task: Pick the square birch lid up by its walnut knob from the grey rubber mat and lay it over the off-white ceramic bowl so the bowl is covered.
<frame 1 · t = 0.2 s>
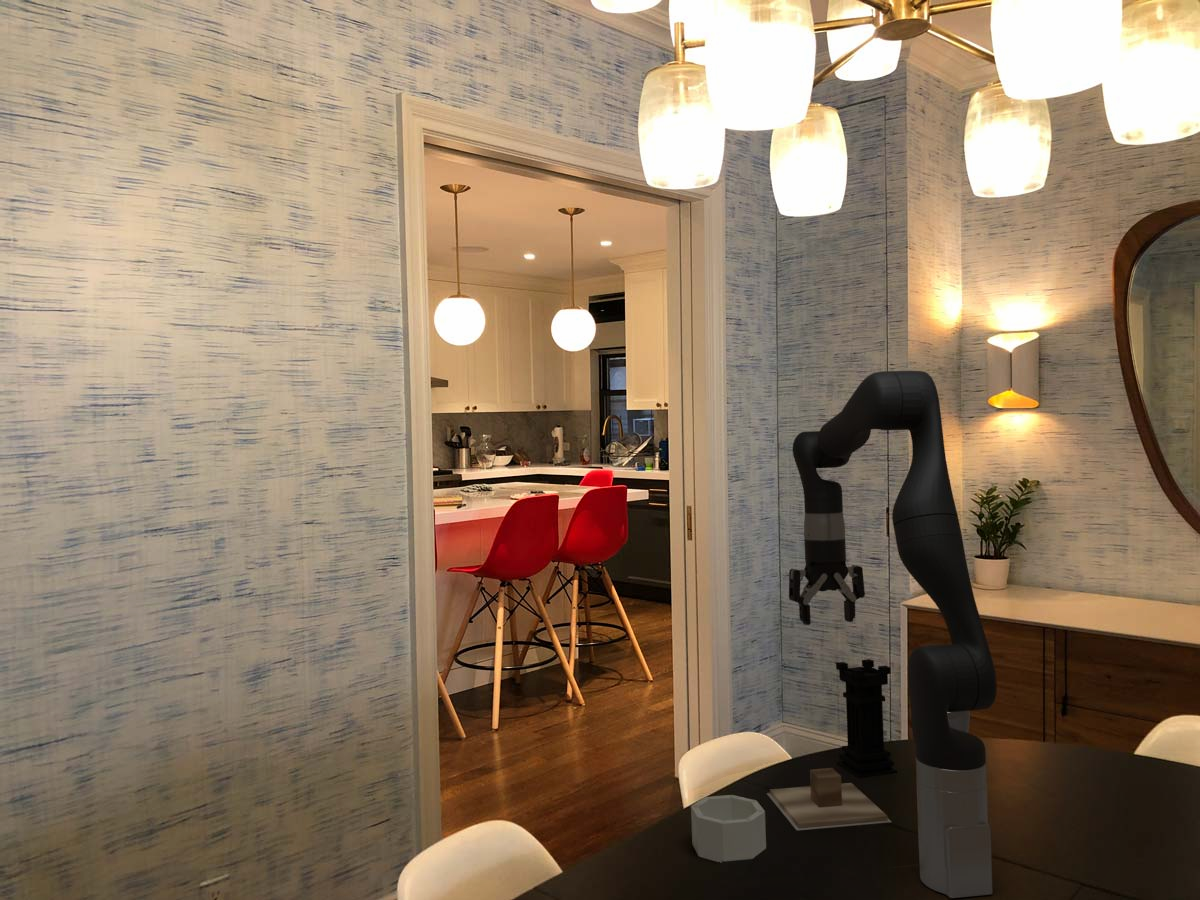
hand: (827, 622, 171), 28 cm above the table, tool pointing down, fingers open, 8 cm apart
chess piece: (866, 771, 172), on the table
lid: (826, 806, 155), resting on mat
bowl: (728, 847, 141), on the table
wine glass: (948, 790, 161), on the table
mat: (826, 809, 155), on the table
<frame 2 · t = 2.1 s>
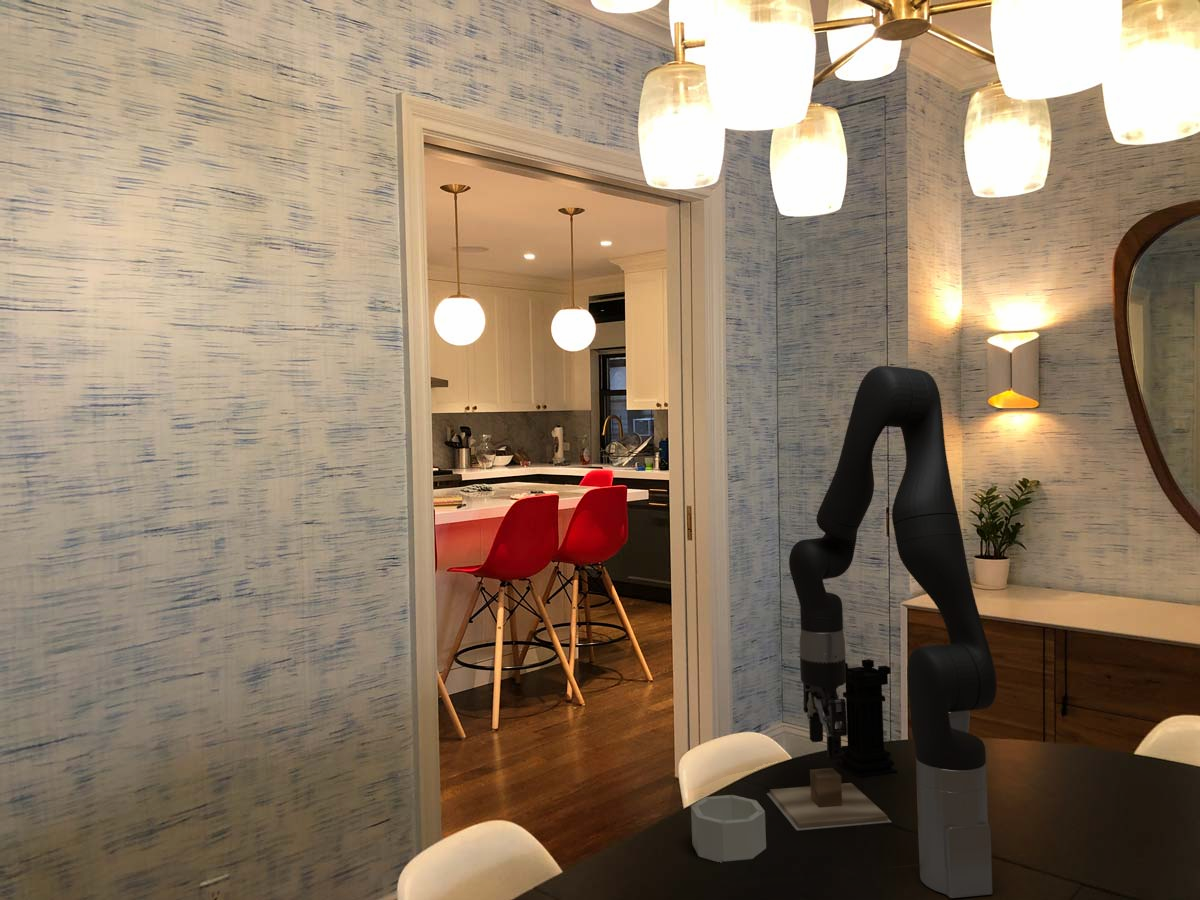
hand: (825, 749, 155), 10 cm above the table, tool pointing down, fingers open, 8 cm apart
nothing on the table moved.
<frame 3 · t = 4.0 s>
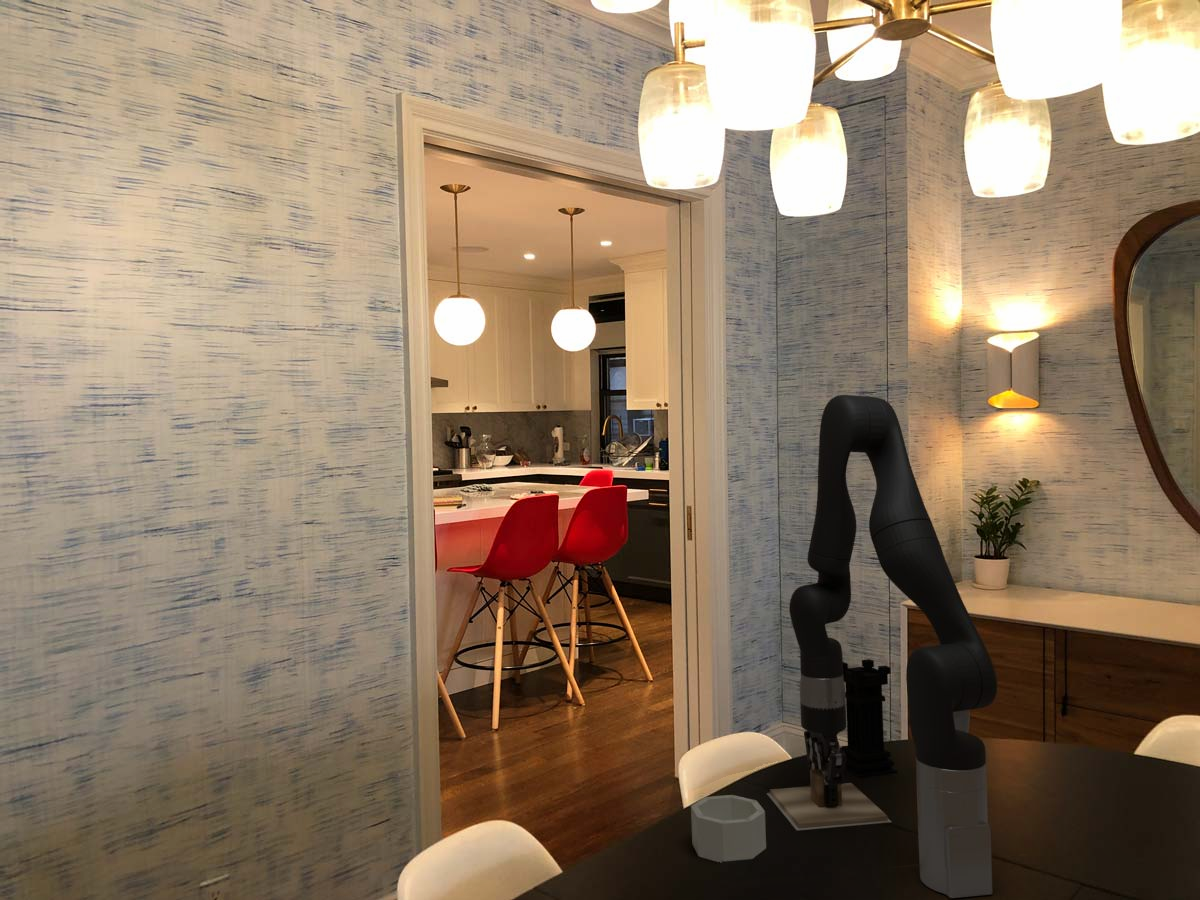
hand: (826, 800, 155), 1 cm above the table, tool pointing down, fingers closed on lid, 4 cm apart
lid: (826, 806, 155), resting on mat, touching gripper
everything else where it was.
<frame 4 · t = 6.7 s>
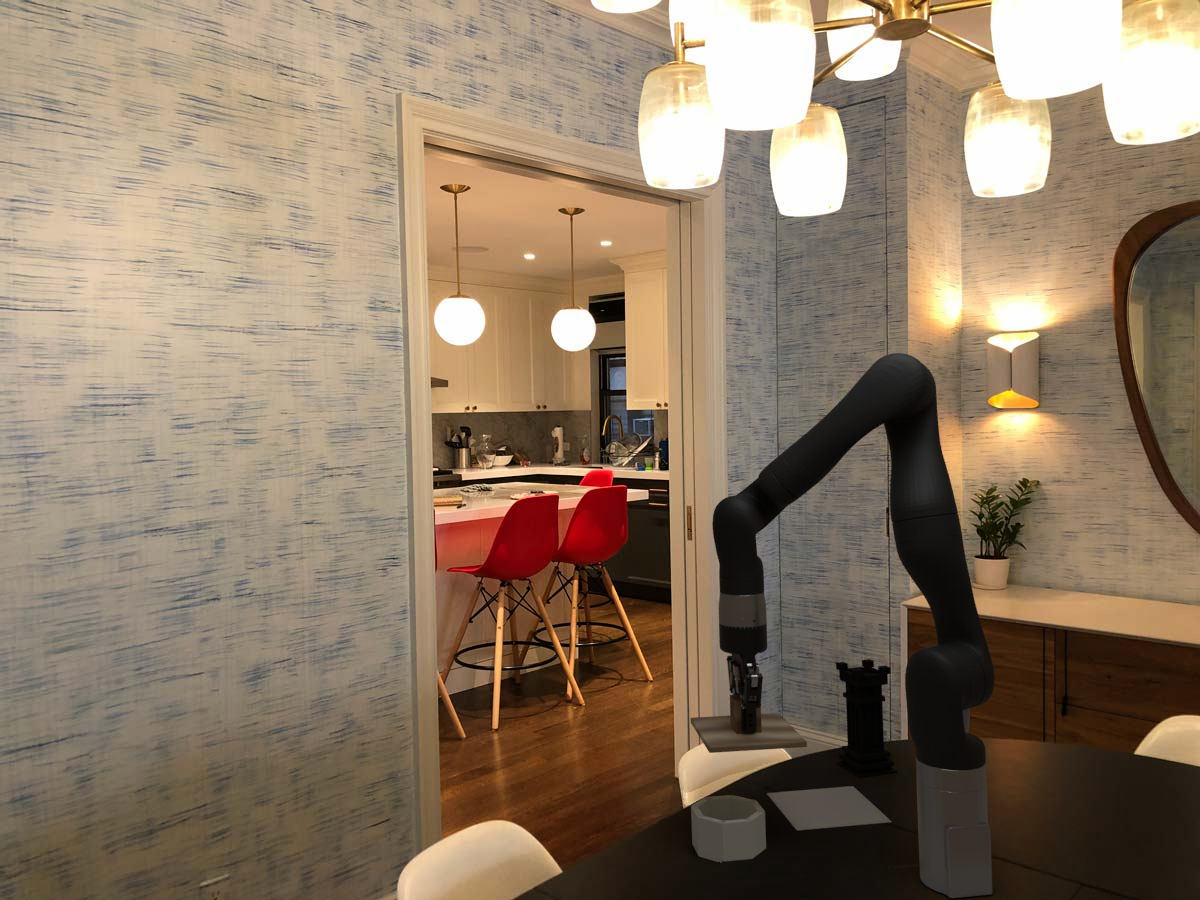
hand: (745, 727, 144), 17 cm above the table, tool pointing down, fingers closed on lid, 4 cm apart
lid: (746, 734, 144), point 16 cm above the table, touching gripper
everything else where it was.
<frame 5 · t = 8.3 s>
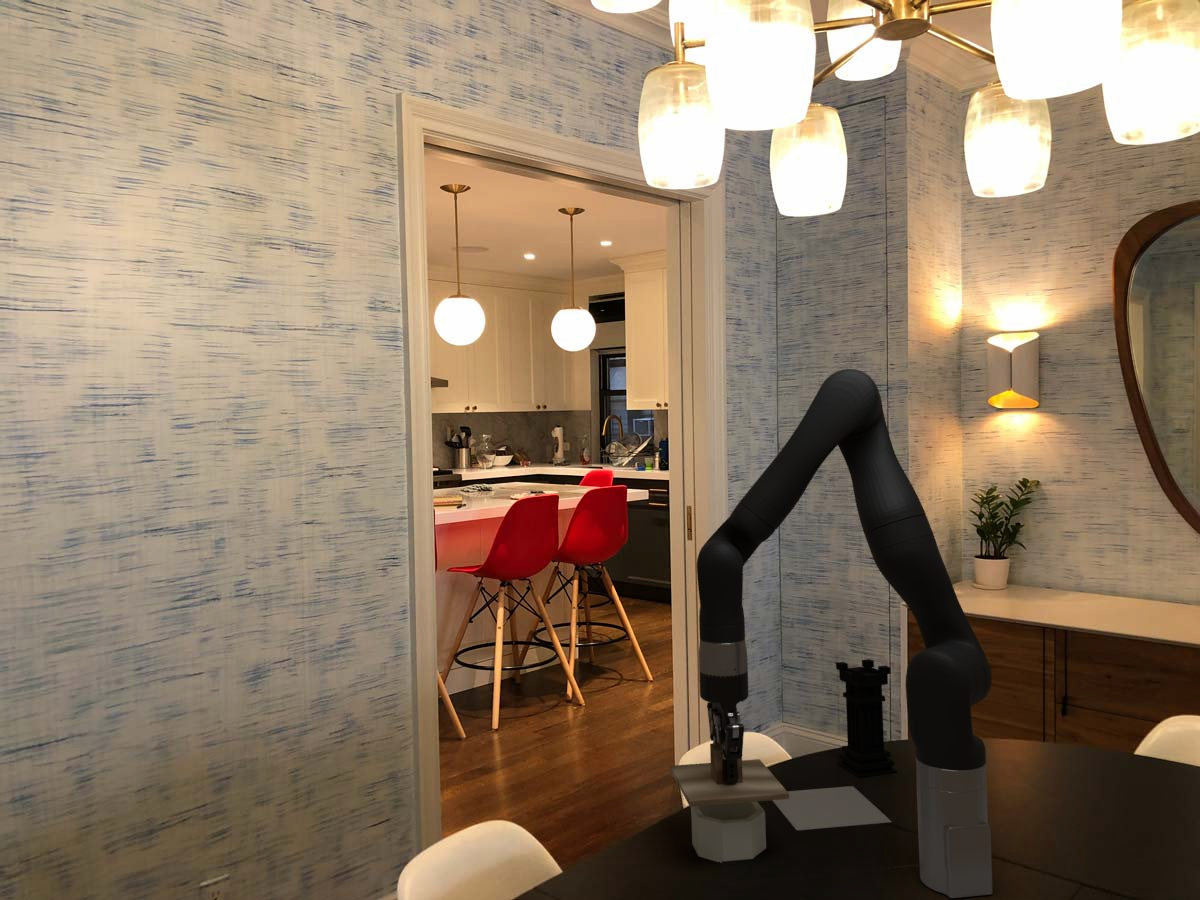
hand: (726, 777, 141), 11 cm above the table, tool pointing down, fingers closed on lid, 4 cm apart
lid: (726, 784, 141), point 10 cm above the table, touching gripper
everything else where it was.
when the fingers open (9 cm above the table, at t = 9.5 s): lid drops 2 cm, resting on bowl.
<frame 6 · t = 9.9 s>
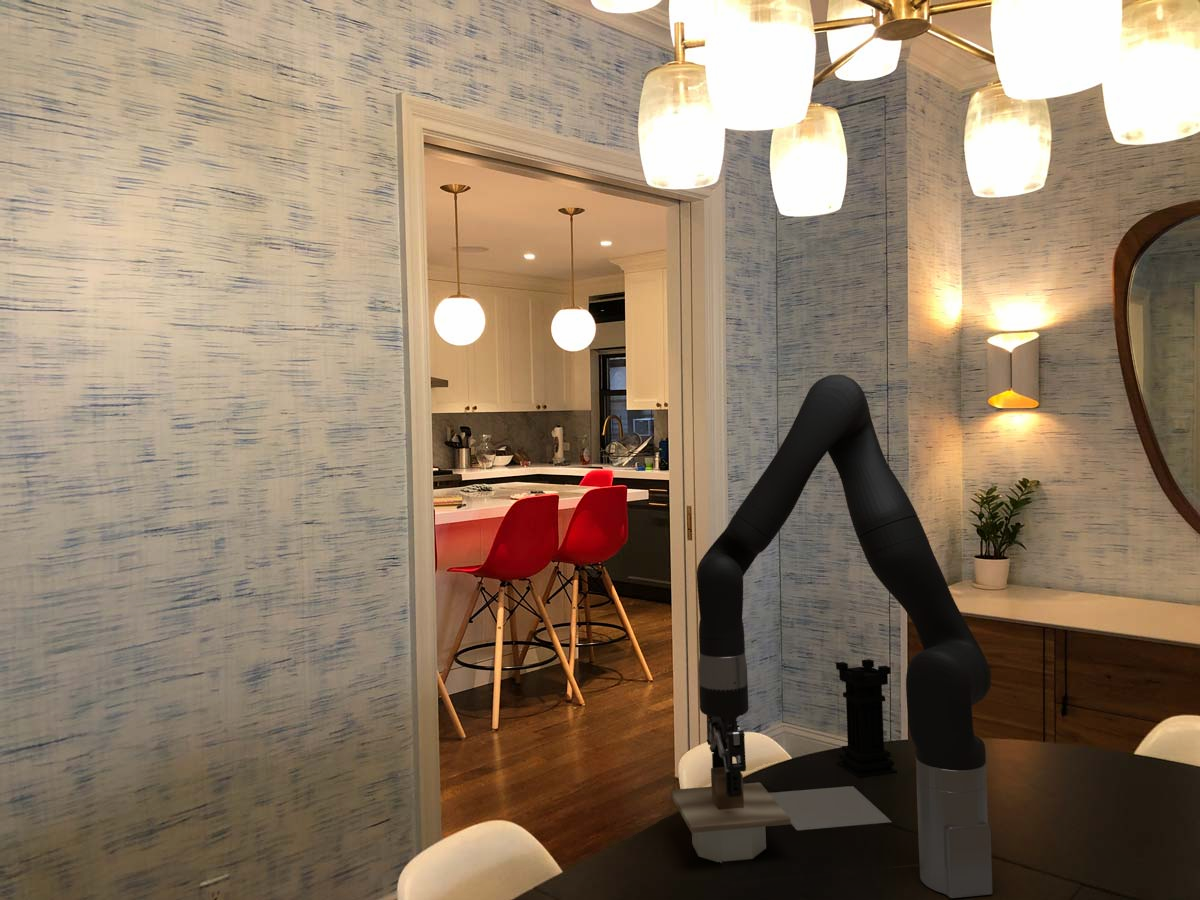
hand: (726, 785, 141), 10 cm above the table, tool pointing down, fingers open, 8 cm apart
lid: (727, 808, 141), point 6 cm above the table, touching bowl
bowl: (728, 847, 141), on the table, touching lid
everything else where it was.
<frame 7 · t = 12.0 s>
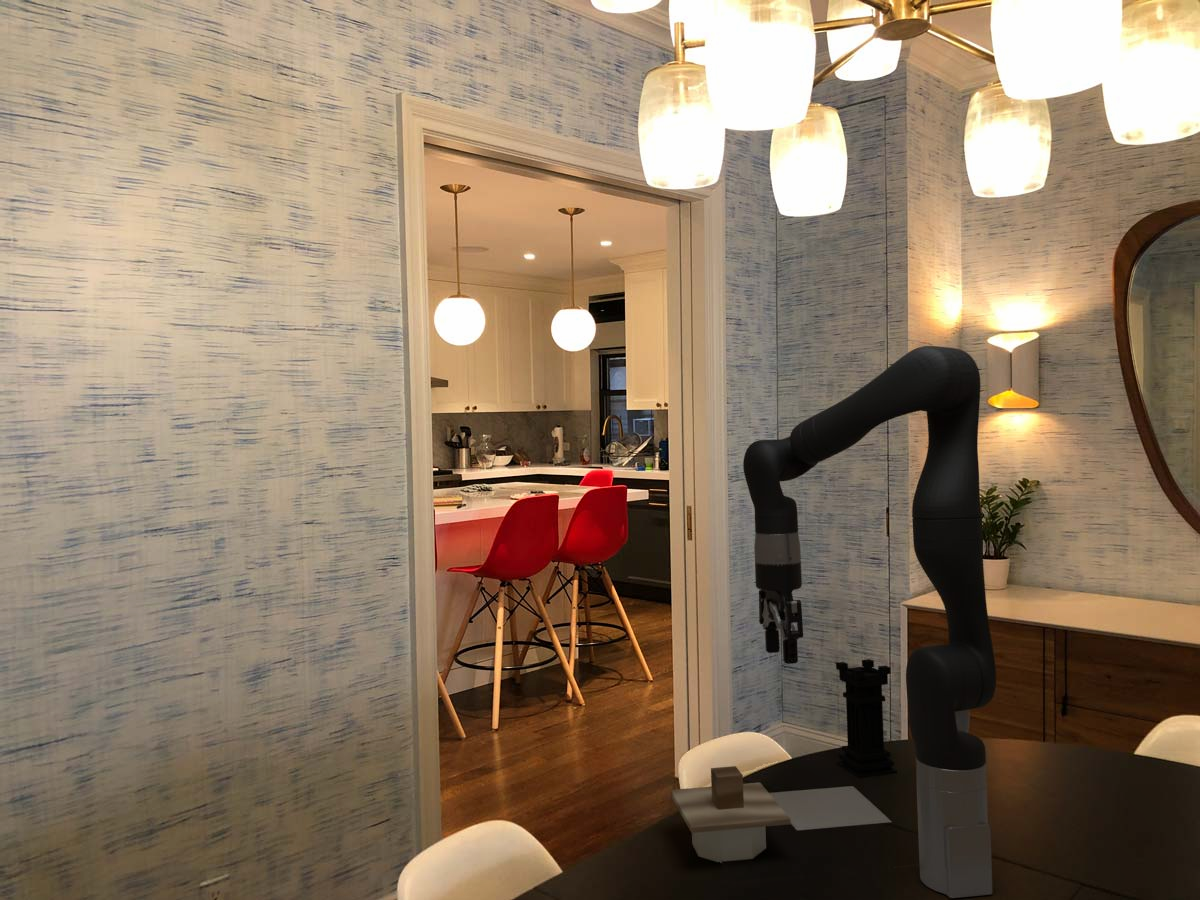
hand: (781, 657, 151), 27 cm above the table, tool pointing down, fingers open, 8 cm apart
nothing on the table moved.
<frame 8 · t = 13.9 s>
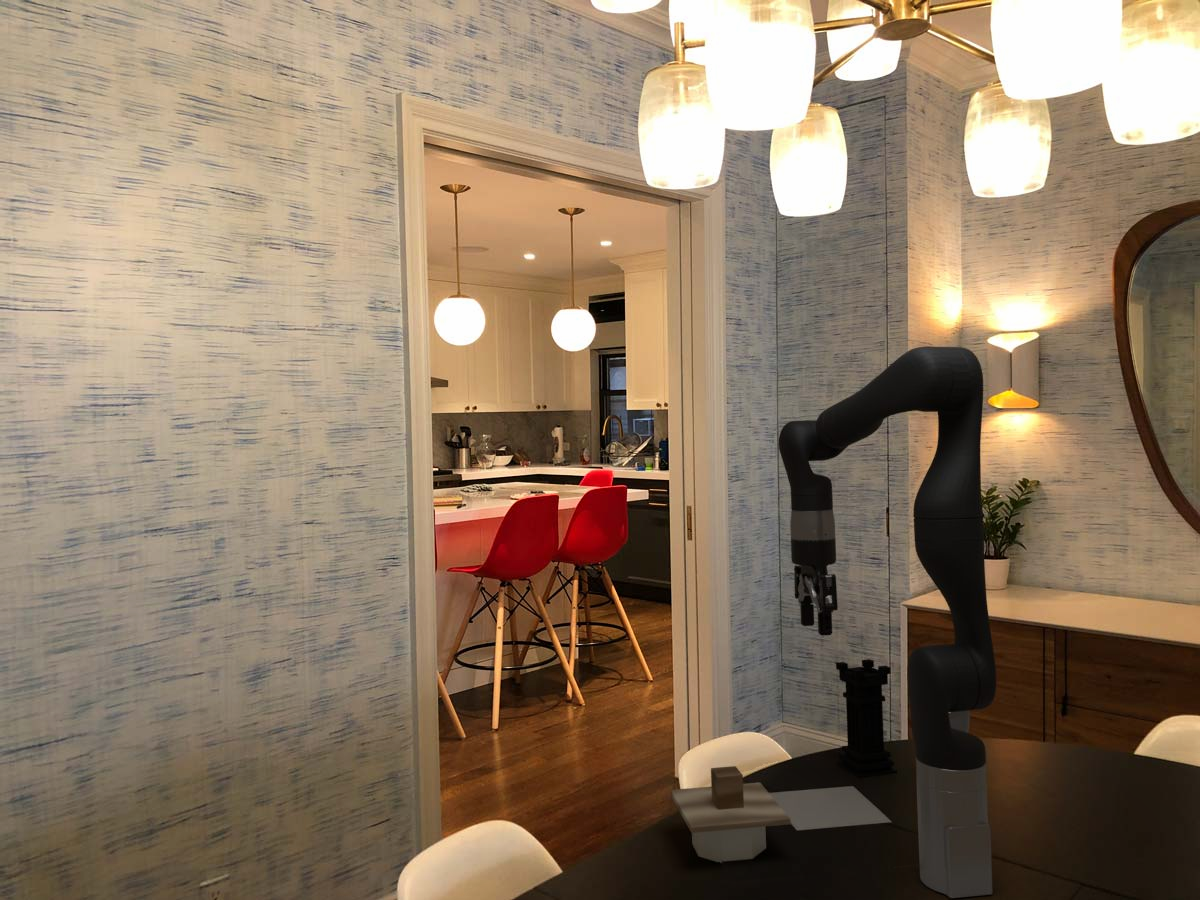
hand: (816, 630, 157), 30 cm above the table, tool pointing down, fingers open, 8 cm apart
nothing on the table moved.
at the end: lid 0.1 cm off-centre on the bowl, point 6.0 cm above the bowl's base; lid tilted 0°; the gripper is holding nothing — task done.
